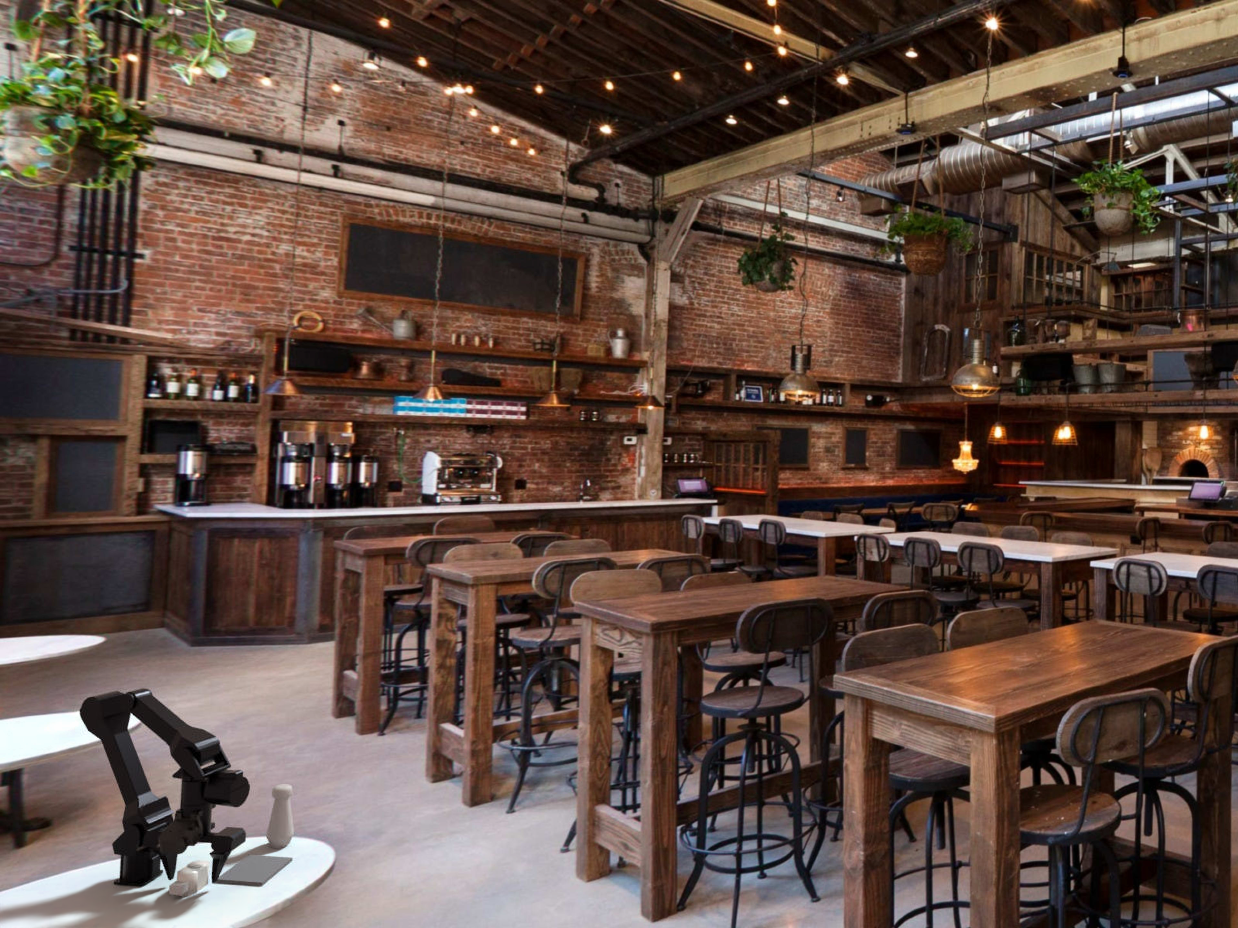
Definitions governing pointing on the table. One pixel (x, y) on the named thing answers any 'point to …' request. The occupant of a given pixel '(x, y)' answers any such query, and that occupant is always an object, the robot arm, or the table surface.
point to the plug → (191, 878)
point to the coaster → (254, 870)
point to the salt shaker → (281, 817)
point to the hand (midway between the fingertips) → (192, 880)
